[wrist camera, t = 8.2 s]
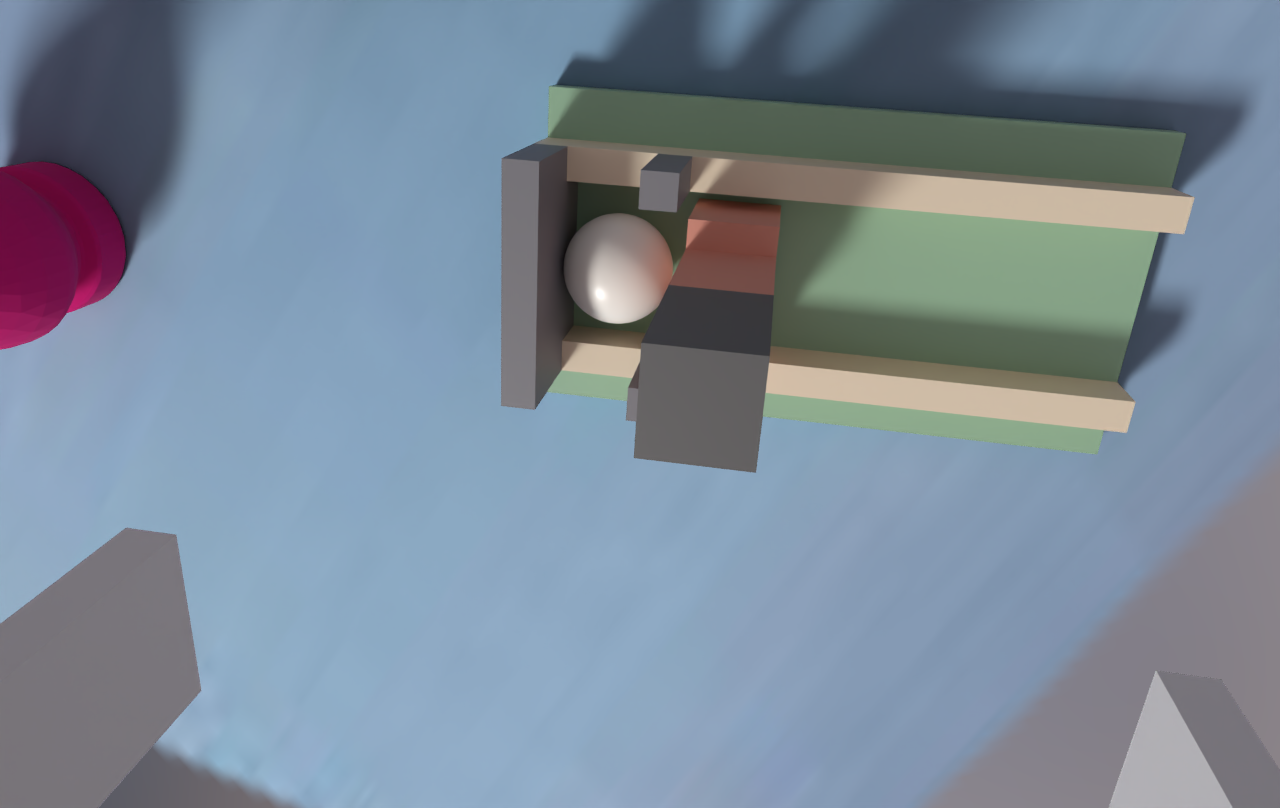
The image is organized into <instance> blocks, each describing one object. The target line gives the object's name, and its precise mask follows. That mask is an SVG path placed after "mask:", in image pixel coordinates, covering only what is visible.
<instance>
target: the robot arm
mask: <svg viewBox="0 0 1280 808" xmlns="http://www.w3.org/2000/svg"><path fill="white" fill-rule="evenodd" d="M200 691H201V685H200V679H199V673H198V667H197V661H196V654H195V648H194V642H193V636H192V630H191V623H190V617H189V611H188V605H187V599H186V592H185V586H184V580H183V574H182V568H181V561H180V555H179V549H178V543H177V537H176V535H174V534H167V533H160V532H153V531H145V530H138V529H131V528H125V529H124V530H123V531H121V532H120V533H119V534H117V535H116V536H115V537H113V538H112V539H111V540H109V541H108V542H107V543H106V544H104V545H103V546H102V547H100V548H99V549H98V550H96V551H95V552H94V553H92V554H91V555H90V556H89V557H87V558H86V559H85V560H83V561H82V562H81V563H79V564H78V565H77V566H75V567H74V568H73V569H72V570H70V571H69V572H68V573H66V574H65V575H64V576H62V577H61V578H60V579H58V580H57V581H56V582H55V583H53V584H52V585H51V586H49V587H48V588H47V589H45V590H44V591H43V592H41V593H40V594H39V595H38V596H36V597H35V598H34V599H32V600H31V601H30V602H28V603H27V604H26V605H24V606H23V607H22V608H21V609H19V610H18V611H17V612H15V613H14V614H13V615H11V616H10V617H9V618H7V619H6V620H5V621H4V622H2V623H1V624H0V808H98V807H99V806H100V805H101V804H102V803H103V802H104V800H106V798H107V797H108V796H109V795H110V794H111V792H112V791H113V790H114V789H115V788H116V787H117V786H118V785H119V784H120V782H121V781H122V780H123V779H124V778H125V777H126V776H127V774H128V773H129V772H130V771H131V770H132V769H133V768H134V767H135V765H136V764H137V763H138V762H139V761H140V760H141V759H142V757H143V756H144V755H145V754H146V753H147V752H148V750H149V749H150V748H151V747H152V746H153V745H154V744H155V743H156V742H157V740H158V739H159V738H160V737H161V736H162V735H163V734H164V732H165V731H166V730H167V729H168V728H169V727H170V726H171V724H172V723H173V722H174V721H175V720H176V719H177V718H178V716H179V715H180V714H181V713H182V712H183V711H184V710H185V709H186V707H187V706H188V705H189V704H190V703H191V702H192V701H193V699H194V698H195V697H196V696H197V695H198V694H199V693H200ZM1109 808H1280V769H1279V768H1278V766H1277V765H1276V763H1275V761H1274V760H1273V758H1272V757H1271V755H1270V754H1269V752H1268V751H1267V749H1266V748H1265V746H1264V744H1263V743H1262V741H1261V740H1260V738H1259V737H1258V735H1257V734H1256V732H1255V731H1254V729H1253V728H1252V726H1251V724H1250V723H1249V721H1248V720H1247V718H1246V717H1245V715H1244V714H1243V712H1242V711H1241V709H1240V707H1239V706H1238V704H1237V703H1236V701H1235V700H1234V698H1233V697H1232V695H1231V694H1230V692H1229V691H1228V689H1227V687H1226V686H1225V684H1224V683H1223V681H1222V680H1221V679H1214V678H1207V677H1199V676H1193V675H1185V674H1178V673H1170V672H1164V671H1156V672H1155V675H1154V678H1153V681H1152V684H1151V686H1150V690H1149V692H1148V695H1147V698H1146V701H1145V704H1144V707H1143V710H1142V713H1141V715H1140V718H1139V722H1138V724H1137V727H1136V730H1135V733H1134V736H1133V739H1132V741H1131V744H1130V747H1129V750H1128V753H1127V756H1126V759H1125V762H1124V765H1123V768H1122V770H1121V773H1120V777H1119V779H1118V782H1117V785H1116V788H1115V791H1114V794H1113V797H1112V799H1111V802H1110V805H1109Z"/></svg>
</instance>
